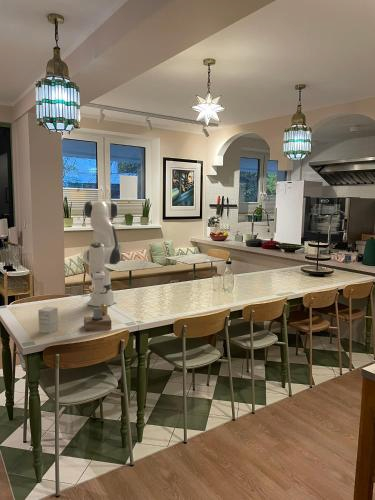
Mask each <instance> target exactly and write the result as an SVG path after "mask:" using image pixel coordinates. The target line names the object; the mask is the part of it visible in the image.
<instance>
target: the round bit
mask: <svg viewBox="0 0 375 500" xmlns="http://www.w3.org/2000/svg"><path fill="white" fill-rule="evenodd" d="M100 307H101V316H104V315H108V306H107V304H101V305H100Z"/></svg>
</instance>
